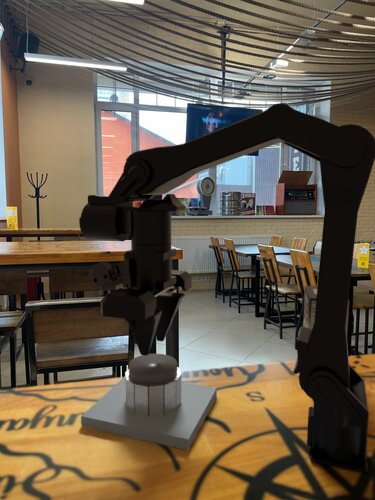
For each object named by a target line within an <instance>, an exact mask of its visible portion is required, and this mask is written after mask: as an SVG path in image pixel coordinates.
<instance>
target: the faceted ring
mask: <svg viewBox="0 0 375 500" xmlns="http://www.w3.org/2000/svg"><path fill="white" fill-rule="evenodd" d="M124 374H125V375H124V377H125V383H126V407H127V409H129V410H130V411H131V412H132V413H134V414H136V415H141V416H146V417H148V416H149V417H154V416H163V415H166V414H168V413H170V412H173V411H175V410H176V409H177V408H178V407H179V405H180V404H181V382H182V371H181V370H180V367H179V366H177V375H176V377H175V378H174V379H172V380H171V381H168V382H166V383H162V384H155V385H147V384H141V383H137V382H135V381H133V380H132V379H131V378H130V377H129V368H128V369H127V370H126V371H125V372H124Z"/></svg>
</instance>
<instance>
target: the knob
mask: <svg viewBox="0 0 375 500" xmlns="http://www.w3.org/2000/svg"><path fill="white" fill-rule="evenodd" d="M177 367H178V361H177V359H176V358H175V357H173V356H171V355H168V354H163V353H149V354H148V355H147V356H145V355H141V354H140V355H138V356H136V357H134V358H132V359H131V360H130V361H129V363H128V369H129V377H130V378H131V379H132V380H133V381H135V382H137V383H141V384H147V385H155V384H162V383H166V382H168V381H171V380H172V379H174V378H175V377H176V375H177Z"/></svg>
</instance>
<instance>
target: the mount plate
mask: <svg viewBox="0 0 375 500" xmlns="http://www.w3.org/2000/svg"><path fill="white" fill-rule="evenodd" d="M217 390H218V389H217V387H212V386H208V385H207V386H205V385H201V384H200V385H199V384H194V383H188V382H182V381H181V404H180V405H179V407H178V408H177V409H176V410H175V411H173V412H170V413H168V414H166V415H163V416H154V417H149V416H148V417H146V416H141V415H136V414H134V413H132V412H131V411H130V410H129V409H127V407H126V383H125V376H124V377H122V378H121V379H120V380H119V381H118V382H117V383H116V384H115V385H114V386H112V387H111V388H110V389H109V390H108V391H107V392H106V393H105V394H103V396H101V397H100V398H99V399H98V400H97V401H96V402H95V403H94V404H93V405H92V406H90V408H88V409H87V410H86V411H85V412H84V413H83V414H82V415H80V416H81V417H80V418H81V419H80V421H81V423H80V424H81V426H82V427H83V428H84V427H85V428H89V429H93V430H98V431H101V432H106V433H111V434H115V435H120V436H124V437H128V438H134V439H138V440H141V441H146V442H149V443H153V444H155V443H156V444H159V445H163V446H168V447H172V448H177V449H182V450H186V451H189V450H190V448H191V446H192V444H193V442H194V441H195V439H196V437H197V435H198V433H199V431H200V429H201V427H202V426H203V423H204V422H205V419H206V418H207V416H208V414H209V412H210V410H211V408H212V407H213V404H214V402H215V401H216V399H217V397H218V396H217V394H218V393H217V392H218V391H217Z"/></svg>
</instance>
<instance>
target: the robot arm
mask: <svg viewBox="0 0 375 500" xmlns="http://www.w3.org/2000/svg"><path fill="white" fill-rule="evenodd" d="M279 143H281V144H284V145H286V146H288V147H290V148H292V149H294V150H296V151H298V152H299V153H302V154H303V155H306V156H307V157H310V158H312V159H313V160H315V161H317V162H319V168H320V179H321V180H320V181H321V188H322V190H321V191H322V197H323V206H324V215H323V225H322V235H321V245H320V256H319V267H318V279H317V286H318V287H317V297H316V308H315V319H314V322H313V325H312V328H311V329H309V328H306V327H303V325H302V326H300V330H299V333H298V336H297V340H296V355H297V357H296V361H295V365H294V367H293V372H292V373H293V374H294V375H297V374H298V375H299V376H298V382H299V387H300V389H301V390H302V391H303V392H304V393H305V394H306V396H307V397H309V398H310V399H312V402H313V406H310V407H308V415H307V432H306V433H307V434H306V446H307V447H308V448H310V451H309V452H310V454H309V455H310V456H309V460H310V461H311V462H314V463H319V464H322V465H323V464H324V465H328V466H332V467H337V468H342V469H347V470H352V471H355V472H360V473H368V471H369V462H368V458H367V450H368V449H367V447H368V434H369V433H368V432H369V419H370V418H369V417H370V411H369V403H368V398H367V396H368V395H367V390H366V381H365V379H364V378H363V377H362V376H361V375H360V374H359V373H358V372H357V370H356V369H354V367H353V366H351V364H350V360H349V359H350V358H349V349H348V334H347V335H346V318H347V308H348V299H349V297H350V287H351V279H352V270H353V262H354V261H353V260H354V250H355V241H356V232H357V222H358V213H359V211H360V210H359V209H360V207H361V204H362V201H363V197H364V194H365V191H366V189H367V187H368V183H369V179H370V176H371V173H372V170H373V166H374V163H375V136H373V134H372V133H371V131H369V130H368V129H367V128H365V127H363V126H361V125H359V124H351V123H350V124H343V125H340V126H338V125H336V124H334V123H331V121H327V120H325V119H323V118H320V117H317V116H314V115H310V114H308V113H305V112H301V111H299V110H297V109H294V108H293V107H292V106H291V105H289V104H287V103H281V102H280V103H275V104H273V105H270V106H269V107H268V108H267V109H265V110H263V111H261V112H259V113H255V114H253V115H251V116H248V117H245V118H243V119H241V120H238V121H236V122H233V123H231V124H229V125H226V126H223V127H222V128H219V129H216V130H214V131H211V132H209V133H206V134H204V135H201V136H199V137H197V138H195V139H192V140H189V141H187V142H185V143H180V144H175V145H167V146H156V147H152V148H146V149H142V150H137V151H134V152H132V153H131V154H129V155H128V156H127V157H126V159H125V163H124V166H123V171H122V174H120V177H119V179H118V180H117V182H116V183H115V185H114V187H113V188H112V190H111V192H110V193H109V195H107V196H106V195H101V194H92V195H91V194H89V195H88V196H87V203H86V204H85V205H84V206H83V208H82V211H81V213H80V217H79V218H78V223H79V229H80V232H81V234H82V236H83V237H84V238H85V239H86V240H89V241H104V242H105V241H107V242H125V241H127V240H128V239H129V237H130V244H131V246H130V248H131V249H128V250H126V251H125V253H123V261H121V262H118V263H115V264H113V265H111V264H110V262H108V261H107V260H104V261H101V262H97V263H95V264H92V265H91V270H90V271H91V272H90V273H91V274H90V276H91V278H90V282H91V284H93V285H94V286H95V287H97V288H98V287H99V291H100V292H106V291H108V289H110V288H113V287H114V288H115V286H116V287H117V286H119V285H122V287H119V288H116V289H115V290H113V291H111V292H109V293H106V294H105V296H104V297H102V299H101V300H100V315H101V316H102V317H106V318H115V319H123V320H125V321H126V322H127V323H128V325H129V328H130V330H131V332H132V335H133V338H134V341H135V342H136V343H135V344H136V345H137V348H138V352H139V355H140V356H141V355H145V356H147V355H148V354H150V351H151V349H152V344H153V343H154V342H153V341H154V339H156V341H158V342H164V340H165V339H166V337H167V334H168V331H169V330H170V327H171V325H172V322H173V320H174V318H175V315H177V311H178V309H179V307H180V306H181V303H182V301H183V299H184V298H185V295H186V294H185V293H182V292H187V291H189V290H190V289H191V288H192V276H191V274H190V273H189V272H188V271H187V270H180V269H179V270H178V269H177V270H176V269H172V261H173V260H172V258H174V257H176V256H177V248H172V212H182V211H186V209H187V207H186V204H185V205H184V203H182V201H180V200H179V199H178V198H177V196H176V194H175V193H170V192H171V191H173V190H175V189H176V188H178V187H180V186H181V185H184V184H185V183H186V182H188V181H189V180H190V179H191V178H192V177H194V176H195V175H197V174H198V173H201V172H202V171H205V170H209V169H211V168H214V167H216V166H219V165H222V164H224V163H228V162H230V161H233V160H235V159H238V158H241V157H244V156H247V155H250V154H252V153H254V152H257V151H260V150H262V149H266V148H267V147H268V148H269V147H271V146H273V145H277V144H279ZM161 195H165V196H164V197H163V198H161V199H160V198H158V199H157V198H156V199H155V198H154V197H155V196H161ZM153 198H154V199H153ZM134 202H140V205H139V206H134ZM133 288H134V289H133ZM177 288H181V289H182V292H177Z"/></svg>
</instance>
